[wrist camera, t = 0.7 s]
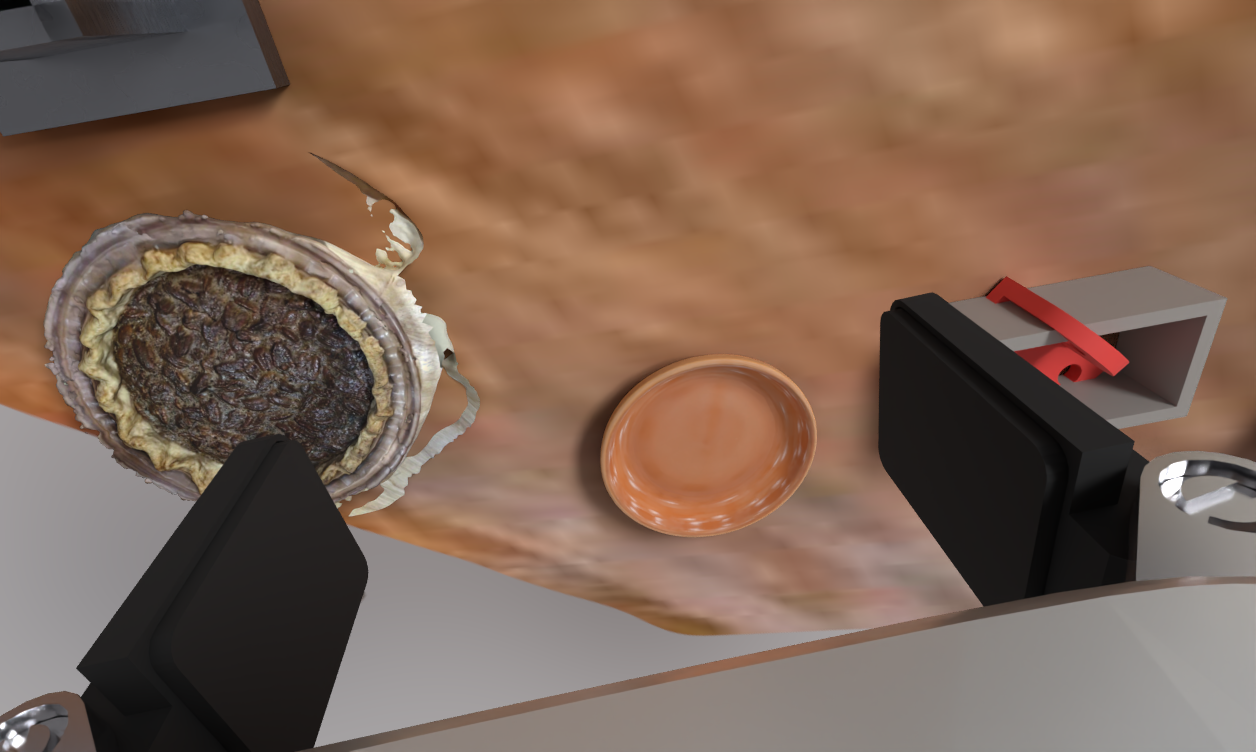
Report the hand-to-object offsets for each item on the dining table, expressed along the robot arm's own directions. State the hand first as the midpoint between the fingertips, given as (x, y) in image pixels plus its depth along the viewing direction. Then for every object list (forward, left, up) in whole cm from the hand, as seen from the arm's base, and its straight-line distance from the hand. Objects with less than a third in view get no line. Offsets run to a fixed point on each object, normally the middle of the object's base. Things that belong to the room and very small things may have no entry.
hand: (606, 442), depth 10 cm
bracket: (+20, +31, -31) cm, 48 cm away
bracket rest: (+20, +31, -31) cm, 48 cm away
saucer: (+23, +6, -31) cm, 39 cm away
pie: (+10, -22, -32) cm, 40 cm away
